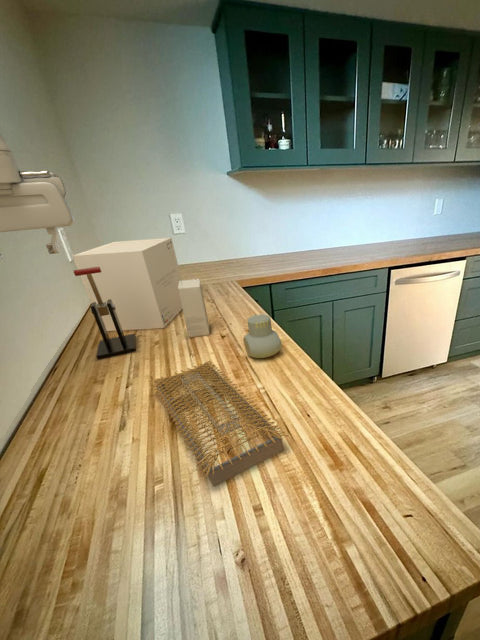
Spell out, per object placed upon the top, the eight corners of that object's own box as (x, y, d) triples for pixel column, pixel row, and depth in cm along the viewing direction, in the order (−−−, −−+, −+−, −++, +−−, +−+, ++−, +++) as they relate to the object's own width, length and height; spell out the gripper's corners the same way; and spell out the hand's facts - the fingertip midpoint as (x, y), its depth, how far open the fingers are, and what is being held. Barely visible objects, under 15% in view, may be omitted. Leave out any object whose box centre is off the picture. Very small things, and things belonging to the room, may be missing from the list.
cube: (164, 327, 112) (141, 250, 99) (101, 331, 113) (72, 255, 100) (187, 303, 133) (171, 237, 121) (135, 306, 134) (113, 241, 122)
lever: (99, 268, 87) (99, 265, 88) (73, 272, 85) (73, 268, 86) (116, 313, 95) (116, 309, 97) (93, 317, 93) (93, 313, 95)
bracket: (136, 351, 97) (119, 305, 90) (97, 359, 94) (77, 312, 87) (135, 336, 106) (121, 294, 99) (101, 344, 103) (83, 300, 96)
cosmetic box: (190, 328, 110) (178, 280, 102) (210, 325, 111) (200, 277, 103) (189, 338, 103) (176, 287, 95) (211, 334, 104) (200, 284, 96)
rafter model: (153, 394, 76) (145, 370, 73) (213, 372, 83) (208, 350, 80) (210, 493, 50) (201, 463, 47) (290, 451, 57) (287, 422, 54)
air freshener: (285, 357, 87) (281, 321, 82) (254, 365, 84) (248, 328, 79) (271, 342, 96) (267, 308, 91) (243, 349, 93) (237, 314, 88)
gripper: (61, 170, 64) (88, 247, 71) (-77, 176, 57) (-32, 260, 64) (55, 169, 58) (85, 251, 66) (-97, 175, 52) (-46, 266, 59)
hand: (26, 256), depth 65 cm, fingers open, 8 cm apart
